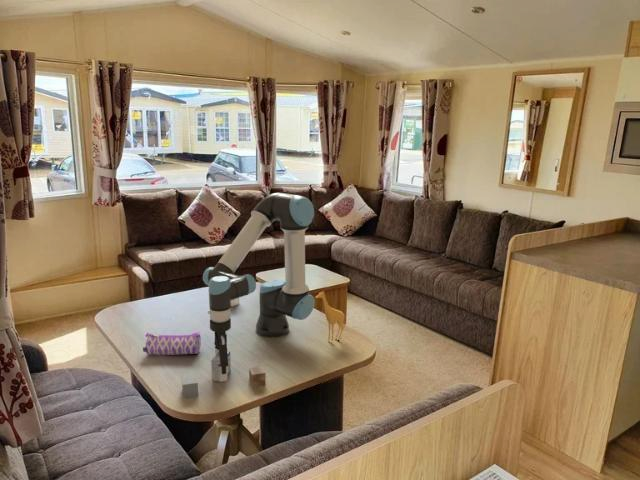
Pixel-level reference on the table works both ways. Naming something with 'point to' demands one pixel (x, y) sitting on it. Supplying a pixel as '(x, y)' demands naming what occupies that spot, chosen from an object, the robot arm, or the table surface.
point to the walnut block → (257, 376)
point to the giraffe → (332, 315)
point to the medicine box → (216, 369)
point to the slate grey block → (190, 386)
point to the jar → (235, 302)
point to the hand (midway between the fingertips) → (221, 372)
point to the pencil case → (172, 344)
